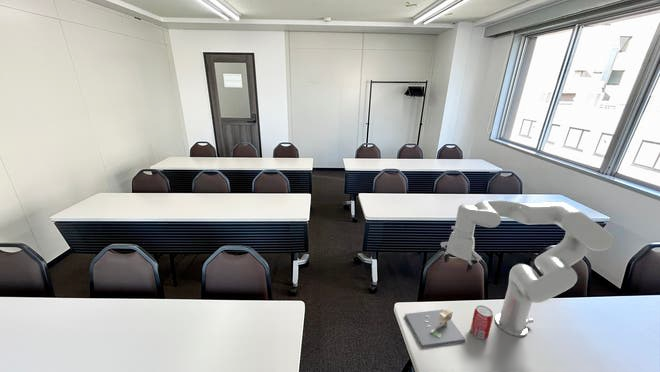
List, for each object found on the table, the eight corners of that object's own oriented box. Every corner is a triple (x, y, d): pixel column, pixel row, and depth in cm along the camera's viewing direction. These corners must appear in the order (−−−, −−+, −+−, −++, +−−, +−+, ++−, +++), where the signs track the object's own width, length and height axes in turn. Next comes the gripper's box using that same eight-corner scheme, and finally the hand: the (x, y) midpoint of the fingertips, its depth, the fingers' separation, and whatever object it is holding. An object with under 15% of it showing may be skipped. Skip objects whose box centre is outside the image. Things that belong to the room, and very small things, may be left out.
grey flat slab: (443, 311, 130) (443, 309, 129) (464, 341, 114) (465, 338, 113) (404, 316, 127) (405, 313, 126) (421, 347, 111) (422, 344, 110)
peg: (445, 319, 123) (447, 307, 121) (450, 323, 121) (453, 312, 119) (428, 330, 117) (430, 318, 115) (434, 335, 115) (436, 323, 113)
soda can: (490, 341, 114) (496, 318, 110) (472, 338, 115) (478, 315, 111) (484, 328, 121) (490, 306, 117) (467, 325, 122) (473, 303, 118)
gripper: (440, 228, 117) (434, 261, 122) (482, 243, 105) (474, 278, 111) (447, 223, 122) (441, 254, 127) (488, 236, 110) (480, 271, 116)
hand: (457, 265), depth 119 cm, fingers open, 9 cm apart
